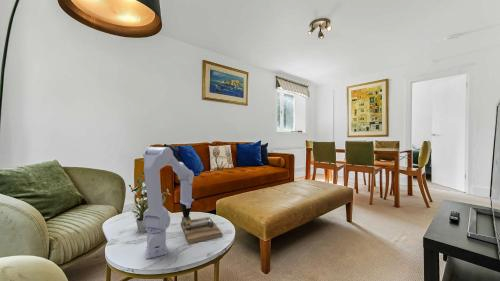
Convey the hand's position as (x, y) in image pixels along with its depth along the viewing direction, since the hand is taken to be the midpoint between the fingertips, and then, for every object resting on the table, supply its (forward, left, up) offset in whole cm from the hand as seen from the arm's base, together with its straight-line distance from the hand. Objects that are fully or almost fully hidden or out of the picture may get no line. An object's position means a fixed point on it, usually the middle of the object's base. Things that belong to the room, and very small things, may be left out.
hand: (186, 217), depth 107 cm
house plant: (+5, +20, -6) cm, 22 cm away
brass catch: (-6, 0, 0) cm, 6 cm away
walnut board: (-7, -6, -6) cm, 11 cm away
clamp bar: (-7, -5, -2) cm, 9 cm away
